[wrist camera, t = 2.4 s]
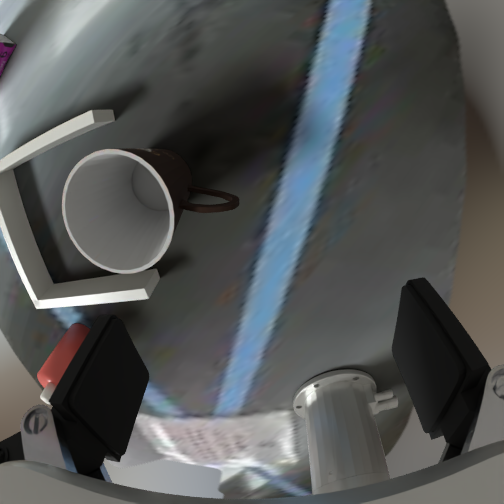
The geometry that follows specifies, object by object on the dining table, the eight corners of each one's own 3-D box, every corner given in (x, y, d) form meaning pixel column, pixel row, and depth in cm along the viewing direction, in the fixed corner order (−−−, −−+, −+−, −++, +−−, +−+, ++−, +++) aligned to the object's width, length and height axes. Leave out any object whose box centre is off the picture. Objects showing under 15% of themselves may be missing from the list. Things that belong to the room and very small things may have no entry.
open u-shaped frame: (112, 109, 23) (91, 109, 20) (160, 278, 31) (148, 298, 27) (5, 163, 25) (-16, 170, 22) (51, 292, 33) (36, 308, 29)
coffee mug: (109, 202, 27) (54, 241, 18) (138, 123, 24) (79, 130, 15) (210, 250, 29) (189, 311, 20) (249, 174, 26) (243, 205, 17)
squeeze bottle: (88, 322, 35) (46, 388, 23) (104, 350, 37) (69, 415, 25) (64, 323, 35) (22, 383, 24) (79, 349, 37) (44, 409, 26)
